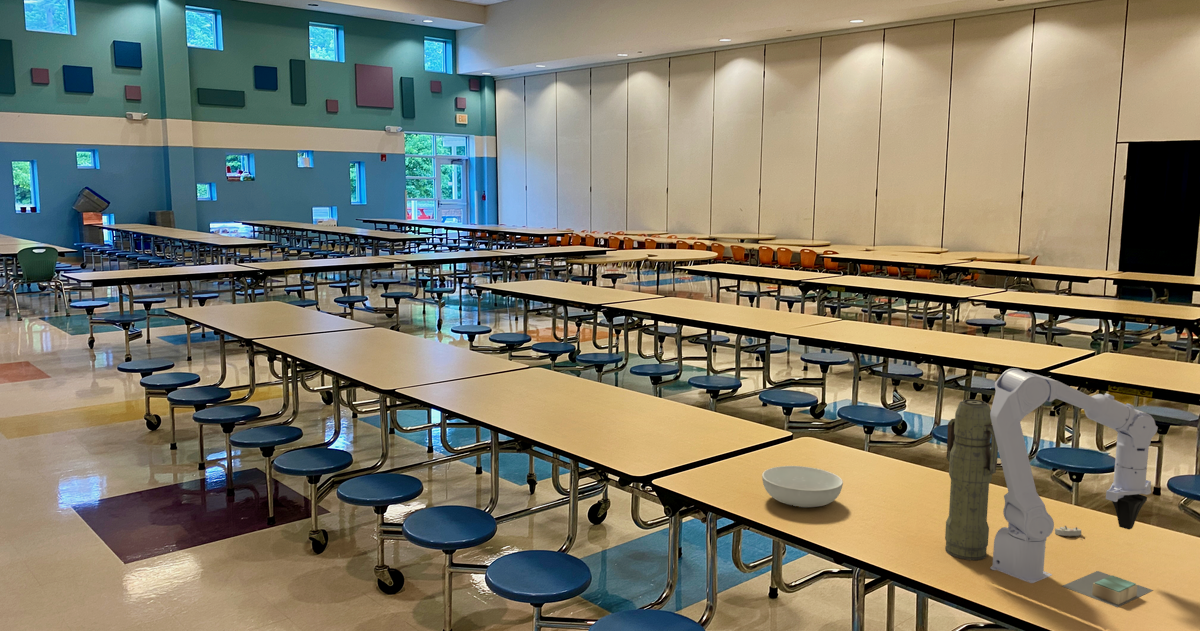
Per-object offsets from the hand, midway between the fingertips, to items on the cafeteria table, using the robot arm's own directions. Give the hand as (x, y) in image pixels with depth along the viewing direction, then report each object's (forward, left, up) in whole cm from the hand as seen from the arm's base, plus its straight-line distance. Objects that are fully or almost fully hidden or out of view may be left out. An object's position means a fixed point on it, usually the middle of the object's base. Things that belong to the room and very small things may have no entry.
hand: (1125, 527), depth 179 cm
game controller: (-16, +11, -11) cm, 22 cm away
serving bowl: (-69, -25, -11) cm, 74 cm away
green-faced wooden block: (+5, -10, -9) cm, 14 cm away
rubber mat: (+2, -11, -10) cm, 15 cm away
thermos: (-25, -18, -11) cm, 33 cm away
